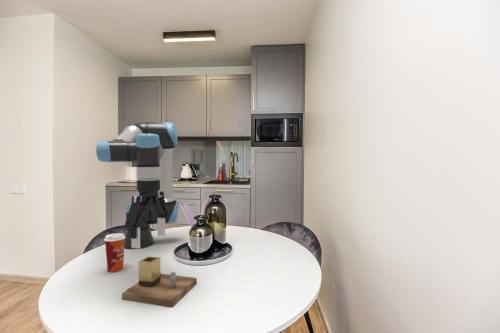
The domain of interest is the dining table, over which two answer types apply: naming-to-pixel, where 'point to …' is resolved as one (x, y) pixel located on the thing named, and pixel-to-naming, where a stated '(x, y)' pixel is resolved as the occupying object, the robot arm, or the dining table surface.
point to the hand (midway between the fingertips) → (149, 241)
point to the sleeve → (149, 271)
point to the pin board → (161, 290)
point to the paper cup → (114, 251)
